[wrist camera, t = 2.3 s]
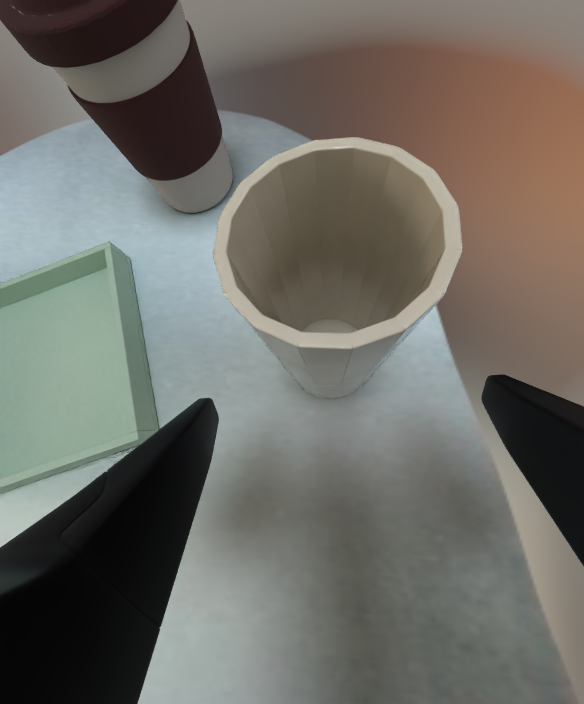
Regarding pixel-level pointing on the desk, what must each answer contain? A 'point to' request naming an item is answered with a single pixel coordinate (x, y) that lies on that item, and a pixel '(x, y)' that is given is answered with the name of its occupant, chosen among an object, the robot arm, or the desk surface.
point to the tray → (71, 366)
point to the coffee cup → (135, 86)
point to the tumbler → (337, 256)
